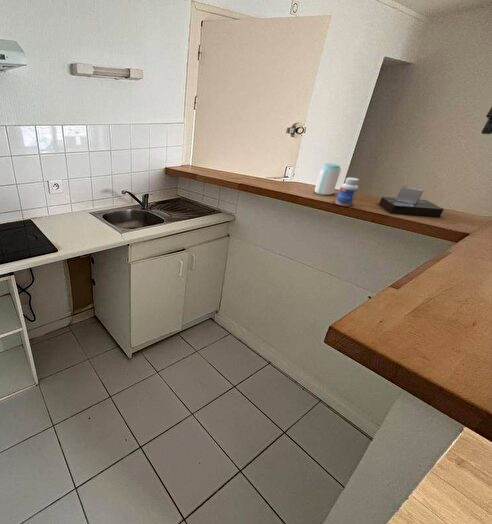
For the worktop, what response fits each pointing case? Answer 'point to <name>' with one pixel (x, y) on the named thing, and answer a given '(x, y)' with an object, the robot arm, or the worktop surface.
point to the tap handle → (409, 195)
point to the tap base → (411, 207)
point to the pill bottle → (347, 192)
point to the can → (327, 179)
